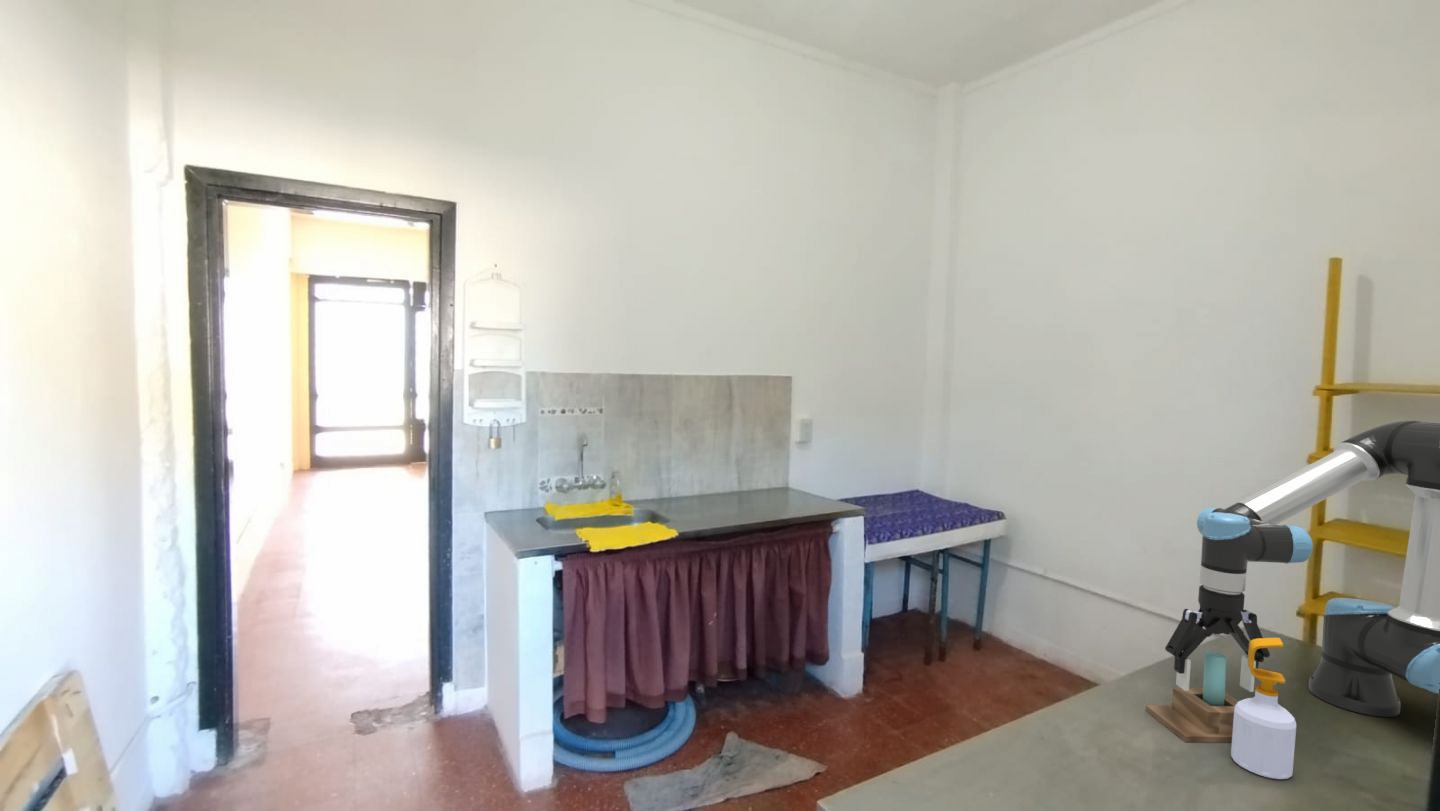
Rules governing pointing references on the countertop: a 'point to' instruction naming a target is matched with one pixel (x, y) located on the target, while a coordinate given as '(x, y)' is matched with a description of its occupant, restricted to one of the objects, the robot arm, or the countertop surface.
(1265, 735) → the soap bottle
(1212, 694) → the peg
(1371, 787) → the countertop surface
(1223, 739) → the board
